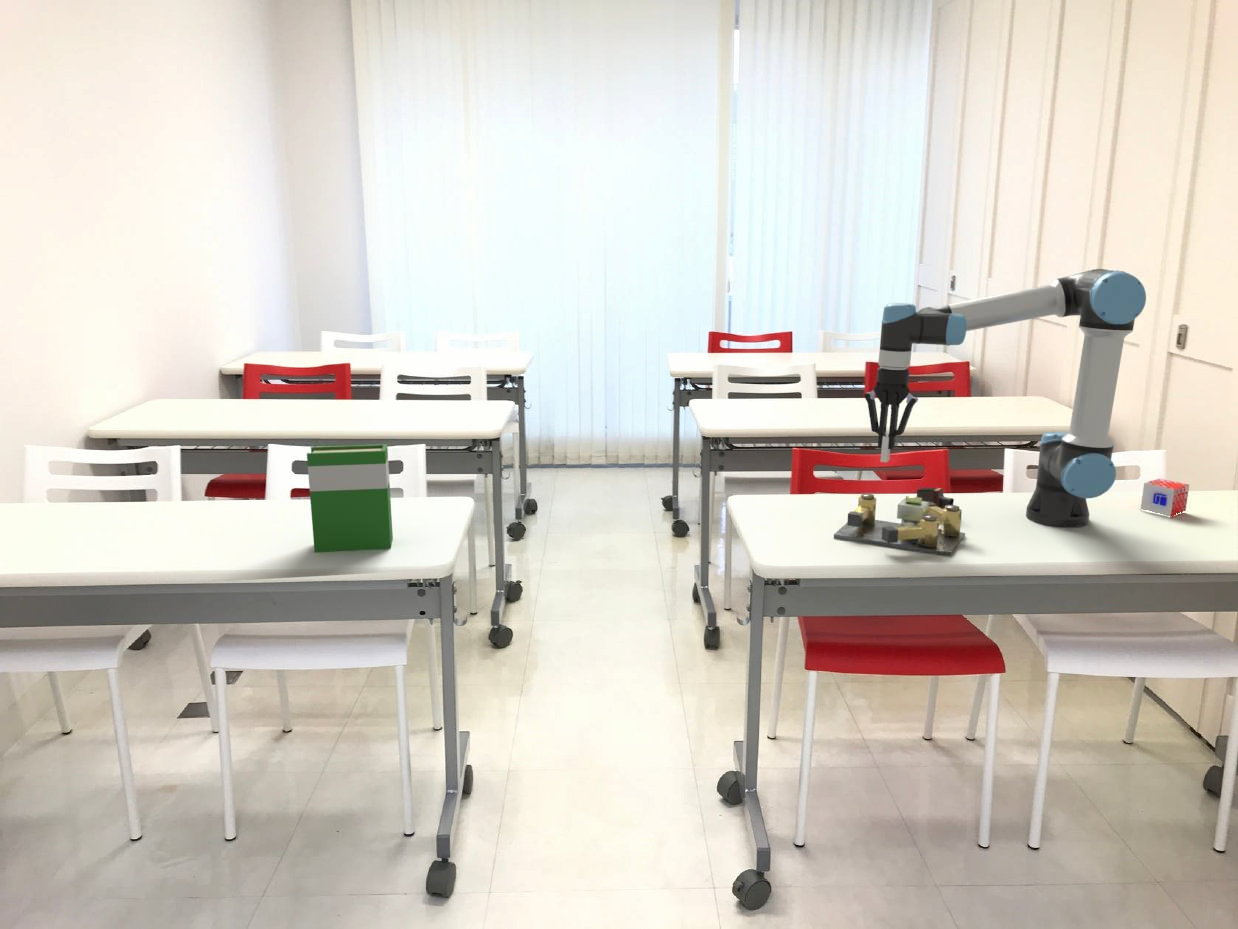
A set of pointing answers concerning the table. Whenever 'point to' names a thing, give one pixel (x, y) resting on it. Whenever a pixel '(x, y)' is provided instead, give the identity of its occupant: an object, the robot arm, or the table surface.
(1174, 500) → the red and white box
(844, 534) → the valve board
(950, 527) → the knob
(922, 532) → the knob
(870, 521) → the knob
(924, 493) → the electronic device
